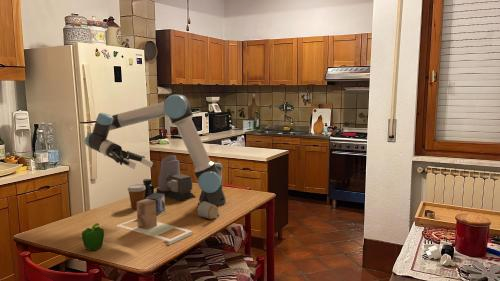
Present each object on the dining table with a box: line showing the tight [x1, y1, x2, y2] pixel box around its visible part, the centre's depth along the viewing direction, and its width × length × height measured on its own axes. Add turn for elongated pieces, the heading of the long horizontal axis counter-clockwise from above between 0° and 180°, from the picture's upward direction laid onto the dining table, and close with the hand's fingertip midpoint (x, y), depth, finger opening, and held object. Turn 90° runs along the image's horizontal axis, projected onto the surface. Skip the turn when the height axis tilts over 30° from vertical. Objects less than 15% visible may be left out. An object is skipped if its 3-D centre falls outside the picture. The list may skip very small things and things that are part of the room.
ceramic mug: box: [197, 201, 221, 220], centre depth 192 cm, size 11×8×8 cm
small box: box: [145, 192, 166, 217], centre depth 195 cm, size 11×6×10 cm, turn 168°
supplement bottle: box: [142, 178, 155, 199], centre depth 223 cm, size 7×7×12 cm
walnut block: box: [136, 199, 158, 230], centre depth 174 cm, size 6×6×12 cm
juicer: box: [154, 154, 197, 202], centre depth 233 cm, size 30×16×24 cm, turn 43°
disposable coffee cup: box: [127, 183, 146, 210], centre depth 208 cm, size 10×10×12 cm
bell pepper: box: [81, 222, 105, 251], centre depth 154 cm, size 8×8×10 cm
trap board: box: [116, 217, 193, 246], centre depth 173 cm, size 35×14×2 cm, turn 56°
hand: (143, 165), depth 186 cm, fingers open, 13 cm apart
